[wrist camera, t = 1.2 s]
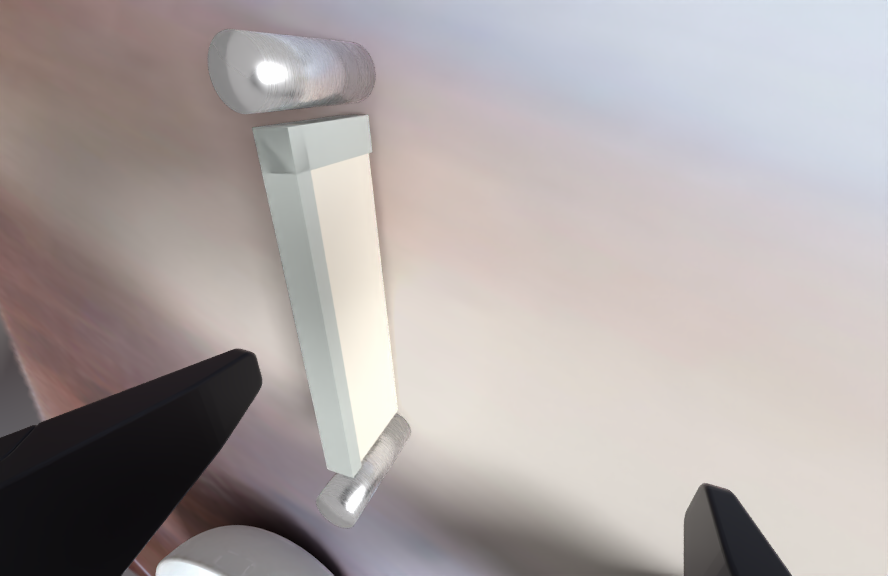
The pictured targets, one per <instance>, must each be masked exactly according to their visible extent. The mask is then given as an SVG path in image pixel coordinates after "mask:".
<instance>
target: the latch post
mask: <svg viewBox="0 0 888 576" xmlns="http://www.w3.org/2000/svg"><path fill="white" fill-rule="evenodd" d="M208 70H209V75H210V78H211V81H212V84H213V86H214V88H215V91H216V92H217V94H218V96H219V97H220V98H221V100H222V101H223V102H224V103H225V104H226V105H227V106H228V107H229V108H231V109H232V110H234V111H235V112H238V113H241V114H253V113H263V112H272V111H282V110H291V109H301V108H310V107H320V106H329V105H339V104H348V103H357V102H361V101H363V100H365V99H366V98H367V97H368V96H369V95H370V94H371V92H372V90H373V87H374V84H375V67H374V63H373V61H372V58H371V56H370V55H369V53H368V52H367V51H366V50H365V49H364V48H363V47H362V46H361V45H359V44H357V43H354V42H347V41H337V40H328V39H319V38H309V37H300V36H291V35H281V34H272V33H263V32H253V31H244V30H235V29H226V30H223V31H221V32H219V33H218V34H217V35H216V36H215V37H214V38H213V40H212V42H211V44H210V47H209V52H208Z"/></svg>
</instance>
